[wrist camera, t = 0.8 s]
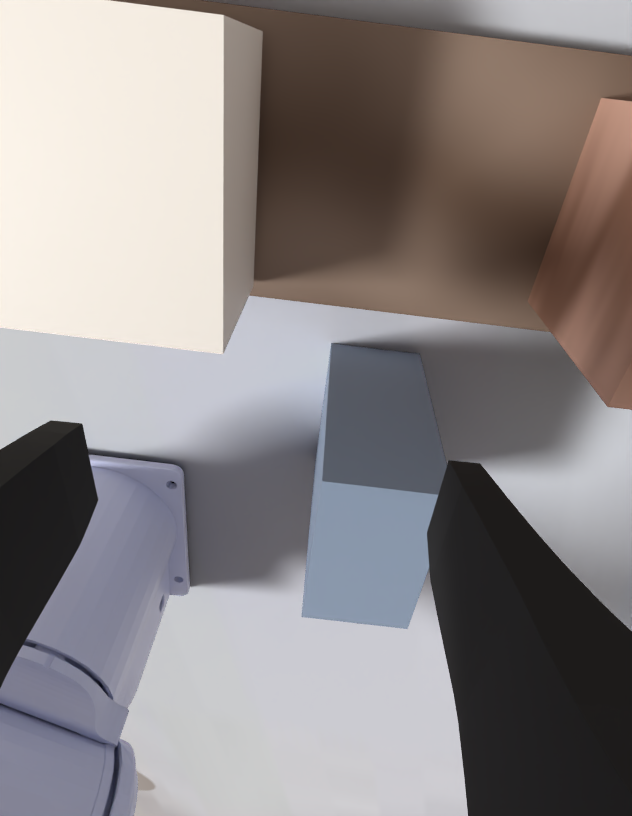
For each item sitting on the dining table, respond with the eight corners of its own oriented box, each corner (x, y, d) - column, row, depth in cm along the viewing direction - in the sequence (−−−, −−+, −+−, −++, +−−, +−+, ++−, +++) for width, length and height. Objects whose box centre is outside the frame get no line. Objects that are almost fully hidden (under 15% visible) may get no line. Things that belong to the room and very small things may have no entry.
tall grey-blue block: (391, 468, 23) (407, 628, 17) (315, 460, 23) (301, 616, 17) (420, 353, 20) (454, 496, 13) (331, 343, 20) (322, 481, 13)
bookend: (253, 285, 17) (223, 354, 13) (34, 258, 17) (-67, 319, 13) (262, 31, 13) (223, 14, 9) (-22, -5, 13) (-192, -39, 9)
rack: (669, 335, 19) (843, 481, 12) (52, 260, 18) (-114, 368, 12) (810, 81, 14) (1205, 93, 8) (-2, -24, 14) (-317, -106, 7)
